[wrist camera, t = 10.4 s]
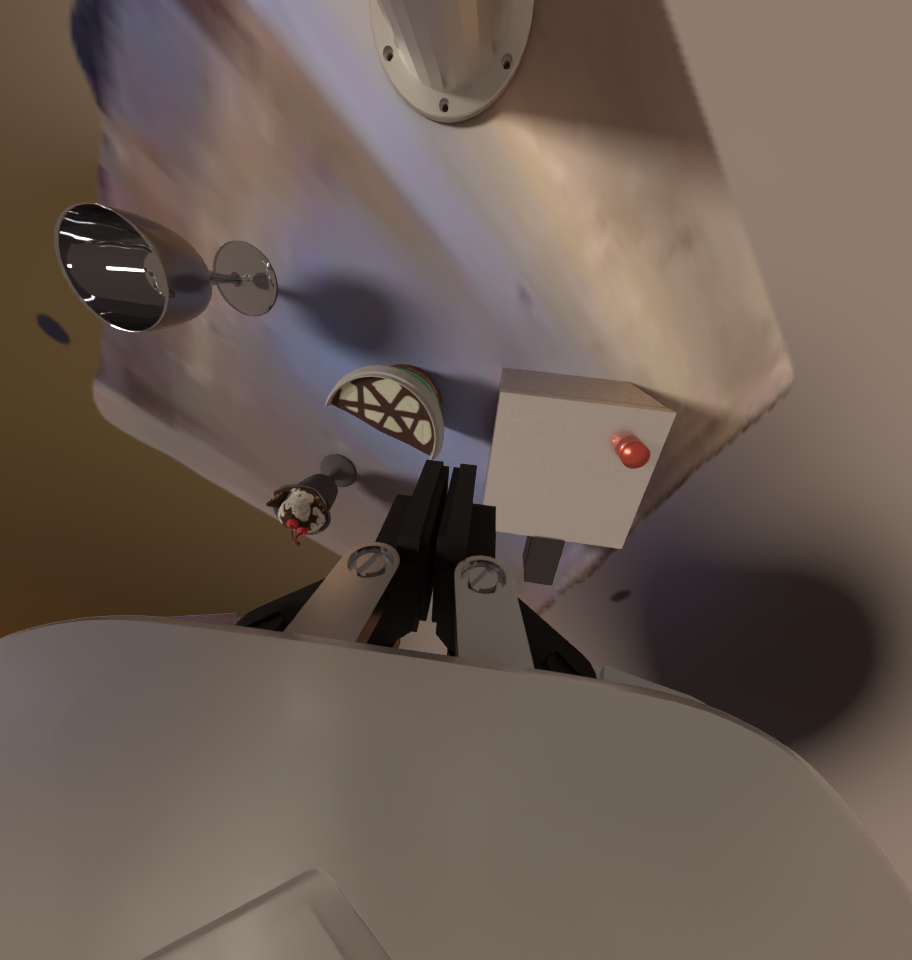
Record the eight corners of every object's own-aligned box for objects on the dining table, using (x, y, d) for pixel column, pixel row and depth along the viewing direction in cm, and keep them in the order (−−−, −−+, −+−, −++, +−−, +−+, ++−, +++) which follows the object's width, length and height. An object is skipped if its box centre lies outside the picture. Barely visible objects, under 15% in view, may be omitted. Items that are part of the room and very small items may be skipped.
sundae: (367, 490, 49) (318, 562, 36) (323, 493, 50) (259, 563, 37) (355, 446, 46) (297, 507, 33) (308, 450, 47) (233, 510, 34)
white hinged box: (502, 367, 40) (502, 388, 31) (629, 382, 39) (666, 407, 30) (480, 515, 49) (475, 563, 40) (581, 529, 48) (600, 582, 39)
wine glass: (282, 250, 37) (159, 225, 23) (278, 329, 40) (170, 346, 27) (207, 224, 36) (40, 184, 23) (210, 306, 40) (68, 312, 27)
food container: (472, 386, 41) (464, 411, 32) (448, 430, 44) (434, 464, 35) (375, 332, 39) (339, 342, 31) (357, 381, 42) (319, 403, 33)
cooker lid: (500, 388, 31) (500, 397, 28) (670, 408, 30) (686, 420, 27) (473, 565, 40) (471, 584, 38) (601, 584, 39) (608, 604, 37)
